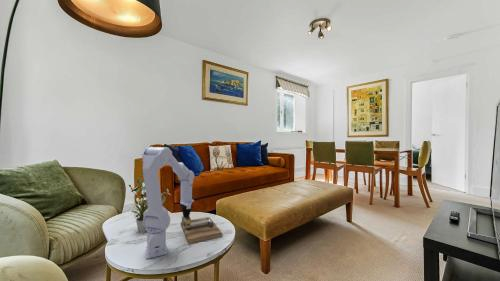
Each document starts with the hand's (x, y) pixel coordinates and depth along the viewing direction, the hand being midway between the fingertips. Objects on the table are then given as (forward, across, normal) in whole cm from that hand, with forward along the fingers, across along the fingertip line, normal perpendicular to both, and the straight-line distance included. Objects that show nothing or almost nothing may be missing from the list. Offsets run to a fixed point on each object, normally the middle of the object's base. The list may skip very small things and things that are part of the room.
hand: (186, 218), depth 106 cm
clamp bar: (+2, -6, -5) cm, 8 cm away
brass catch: (0, -4, 0) cm, 4 cm away
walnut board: (+5, -6, -6) cm, 10 cm away
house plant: (+6, +6, +20) cm, 22 cm away
